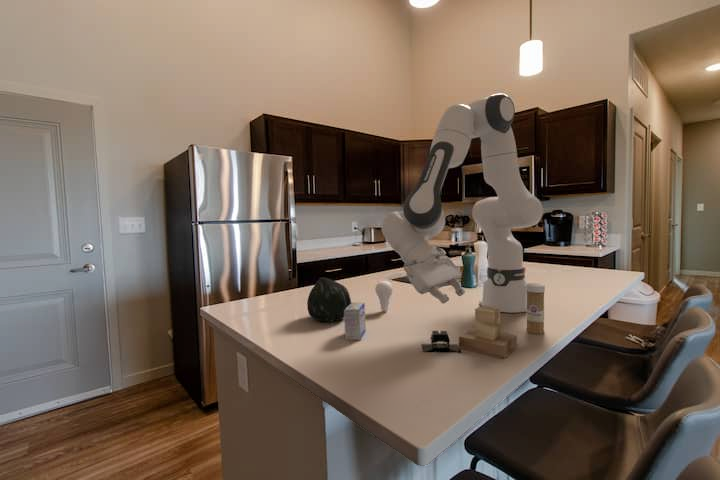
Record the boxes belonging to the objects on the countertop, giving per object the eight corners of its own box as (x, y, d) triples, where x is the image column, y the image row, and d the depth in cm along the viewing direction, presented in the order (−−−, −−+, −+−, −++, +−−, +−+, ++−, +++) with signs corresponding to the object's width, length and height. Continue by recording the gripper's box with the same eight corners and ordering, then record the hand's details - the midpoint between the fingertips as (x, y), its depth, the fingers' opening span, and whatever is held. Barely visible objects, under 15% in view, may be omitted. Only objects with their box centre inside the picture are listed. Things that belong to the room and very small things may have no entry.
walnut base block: (474, 337, 94) (474, 326, 94) (516, 346, 87) (516, 335, 87) (459, 348, 87) (459, 336, 87) (503, 358, 80) (503, 346, 80)
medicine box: (360, 340, 95) (359, 309, 94) (344, 340, 96) (343, 309, 95) (365, 331, 103) (364, 302, 102) (351, 330, 104) (350, 302, 103)
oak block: (482, 331, 90) (482, 305, 90) (500, 335, 87) (500, 307, 87) (475, 336, 87) (475, 308, 86) (493, 340, 84) (493, 311, 83)
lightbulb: (375, 309, 126) (375, 279, 125) (392, 309, 125) (392, 279, 125) (376, 314, 120) (375, 282, 119) (393, 313, 119) (393, 282, 119)
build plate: (462, 345, 91) (462, 327, 90) (468, 356, 83) (468, 337, 83) (414, 345, 92) (414, 328, 92) (416, 356, 85) (415, 338, 84)
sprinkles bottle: (526, 333, 96) (526, 285, 95) (526, 328, 100) (526, 282, 99) (545, 335, 94) (545, 286, 93) (543, 329, 98) (544, 282, 97)
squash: (360, 296, 123) (331, 266, 122) (356, 310, 108) (322, 275, 107) (332, 322, 125) (303, 292, 124) (324, 339, 110) (291, 305, 110)
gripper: (407, 256, 88) (443, 298, 83) (445, 248, 104) (478, 284, 98) (394, 272, 92) (427, 314, 86) (432, 262, 107) (463, 297, 101)
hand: (454, 298), depth 92 cm, fingers open, 8 cm apart
